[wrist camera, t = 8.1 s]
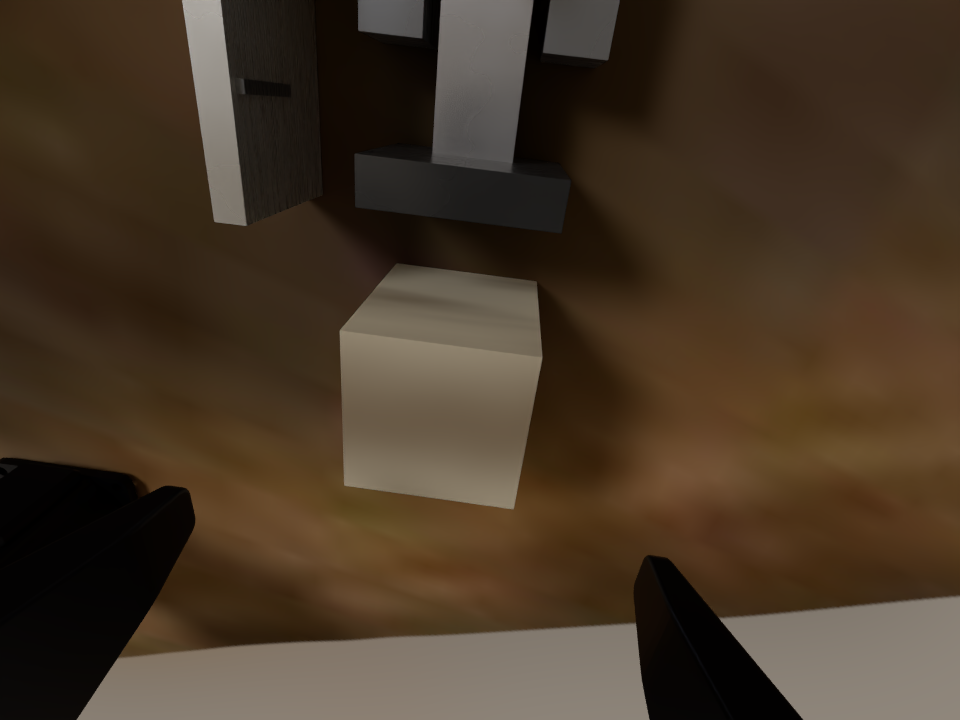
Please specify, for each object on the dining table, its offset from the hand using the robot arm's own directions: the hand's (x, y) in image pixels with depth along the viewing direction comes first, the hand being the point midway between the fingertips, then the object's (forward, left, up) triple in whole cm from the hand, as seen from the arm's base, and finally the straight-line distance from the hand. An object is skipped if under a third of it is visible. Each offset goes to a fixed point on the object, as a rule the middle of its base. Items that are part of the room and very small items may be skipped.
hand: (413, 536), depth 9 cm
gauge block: (0, 0, -10) cm, 10 cm away
